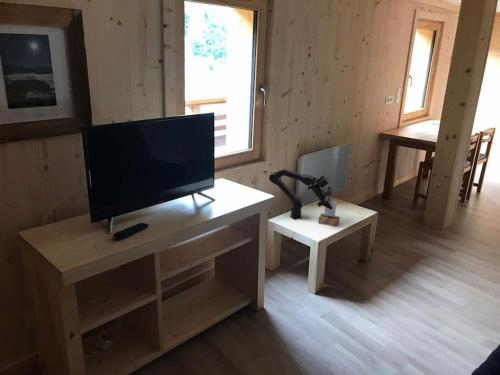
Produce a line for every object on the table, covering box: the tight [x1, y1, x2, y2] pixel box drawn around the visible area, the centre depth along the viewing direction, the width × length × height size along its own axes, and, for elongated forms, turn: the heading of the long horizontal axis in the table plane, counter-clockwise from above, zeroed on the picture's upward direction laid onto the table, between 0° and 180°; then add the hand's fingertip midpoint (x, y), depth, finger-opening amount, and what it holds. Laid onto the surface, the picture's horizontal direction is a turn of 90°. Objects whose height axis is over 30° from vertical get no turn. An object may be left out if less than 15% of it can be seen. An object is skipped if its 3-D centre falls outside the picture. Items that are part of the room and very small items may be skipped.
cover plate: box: [323, 200, 337, 216], centre depth 284 cm, size 7×2×10 cm, turn 67°
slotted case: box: [318, 213, 341, 228], centre depth 287 cm, size 13×8×4 cm, turn 67°
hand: (332, 208), depth 284 cm, fingers closed on cover plate, 2 cm apart
